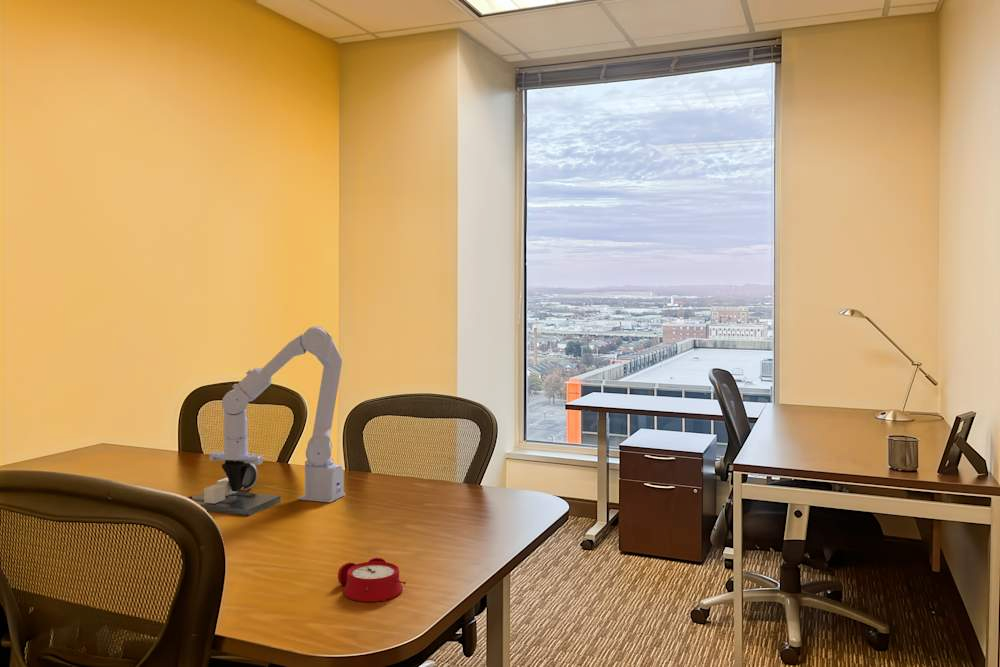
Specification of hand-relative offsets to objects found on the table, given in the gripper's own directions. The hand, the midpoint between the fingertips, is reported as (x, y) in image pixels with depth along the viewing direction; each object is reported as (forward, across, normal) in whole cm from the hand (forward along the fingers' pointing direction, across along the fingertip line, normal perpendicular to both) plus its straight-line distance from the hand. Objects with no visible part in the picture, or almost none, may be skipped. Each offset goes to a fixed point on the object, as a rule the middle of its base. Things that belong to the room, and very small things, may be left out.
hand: (236, 490), depth 199 cm
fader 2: (+1, +3, 0) cm, 3 cm away
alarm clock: (+3, -59, +41) cm, 72 cm away
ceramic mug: (+3, +8, -11) cm, 14 cm away
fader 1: (+1, +1, +7) cm, 7 cm away
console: (+3, -1, +4) cm, 5 cm away
